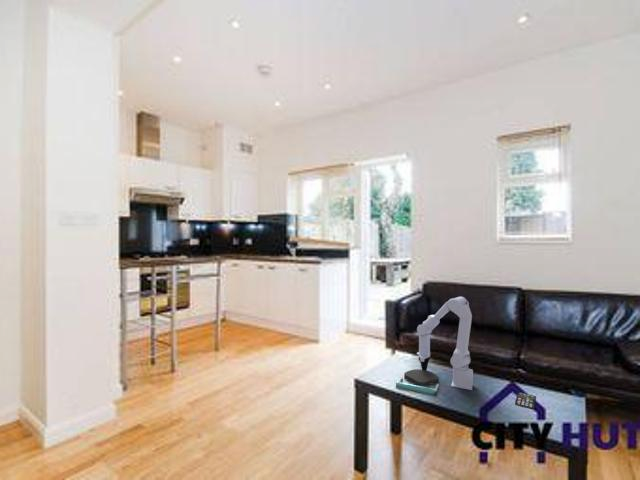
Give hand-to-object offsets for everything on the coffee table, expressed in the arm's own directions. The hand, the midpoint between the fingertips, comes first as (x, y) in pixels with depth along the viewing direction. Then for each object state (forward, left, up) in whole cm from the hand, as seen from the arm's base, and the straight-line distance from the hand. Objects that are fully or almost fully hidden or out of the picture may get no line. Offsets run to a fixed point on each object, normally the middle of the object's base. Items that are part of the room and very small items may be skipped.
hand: (424, 370), depth 189 cm
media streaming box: (0, +9, -2) cm, 10 cm away
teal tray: (0, +20, -1) cm, 20 cm away
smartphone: (-47, +12, -2) cm, 49 cm away
